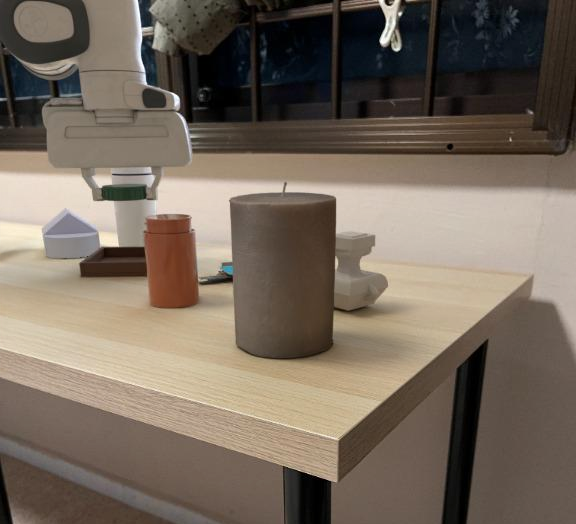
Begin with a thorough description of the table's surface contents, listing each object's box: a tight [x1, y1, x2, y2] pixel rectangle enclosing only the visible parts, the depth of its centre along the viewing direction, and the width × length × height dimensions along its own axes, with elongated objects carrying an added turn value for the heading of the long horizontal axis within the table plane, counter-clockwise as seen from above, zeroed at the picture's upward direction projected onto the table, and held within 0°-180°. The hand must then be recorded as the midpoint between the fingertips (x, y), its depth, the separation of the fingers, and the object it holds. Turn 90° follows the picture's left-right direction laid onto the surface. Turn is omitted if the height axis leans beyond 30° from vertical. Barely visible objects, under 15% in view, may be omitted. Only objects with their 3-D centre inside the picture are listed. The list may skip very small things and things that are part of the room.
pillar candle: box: [228, 181, 337, 359], centre depth 57 cm, size 10×10×15 cm
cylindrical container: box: [109, 167, 158, 247], centre depth 105 cm, size 7×7×25 cm
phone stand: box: [198, 261, 233, 285], centre depth 86 cm, size 20×12×2 cm, turn 114°
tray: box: [78, 246, 147, 278], centre depth 93 cm, size 12×13×2 cm
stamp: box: [334, 230, 389, 312], centre depth 70 cm, size 9×7×8 cm
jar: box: [143, 213, 200, 309], centre depth 72 cm, size 6×6×10 cm
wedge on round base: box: [41, 207, 101, 259], centre depth 105 cm, size 9×7×13 cm
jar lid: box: [101, 184, 147, 202], centre depth 90 cm, size 7×7×2 cm
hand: (126, 200), depth 90 cm, fingers closed on jar lid, 6 cm apart
